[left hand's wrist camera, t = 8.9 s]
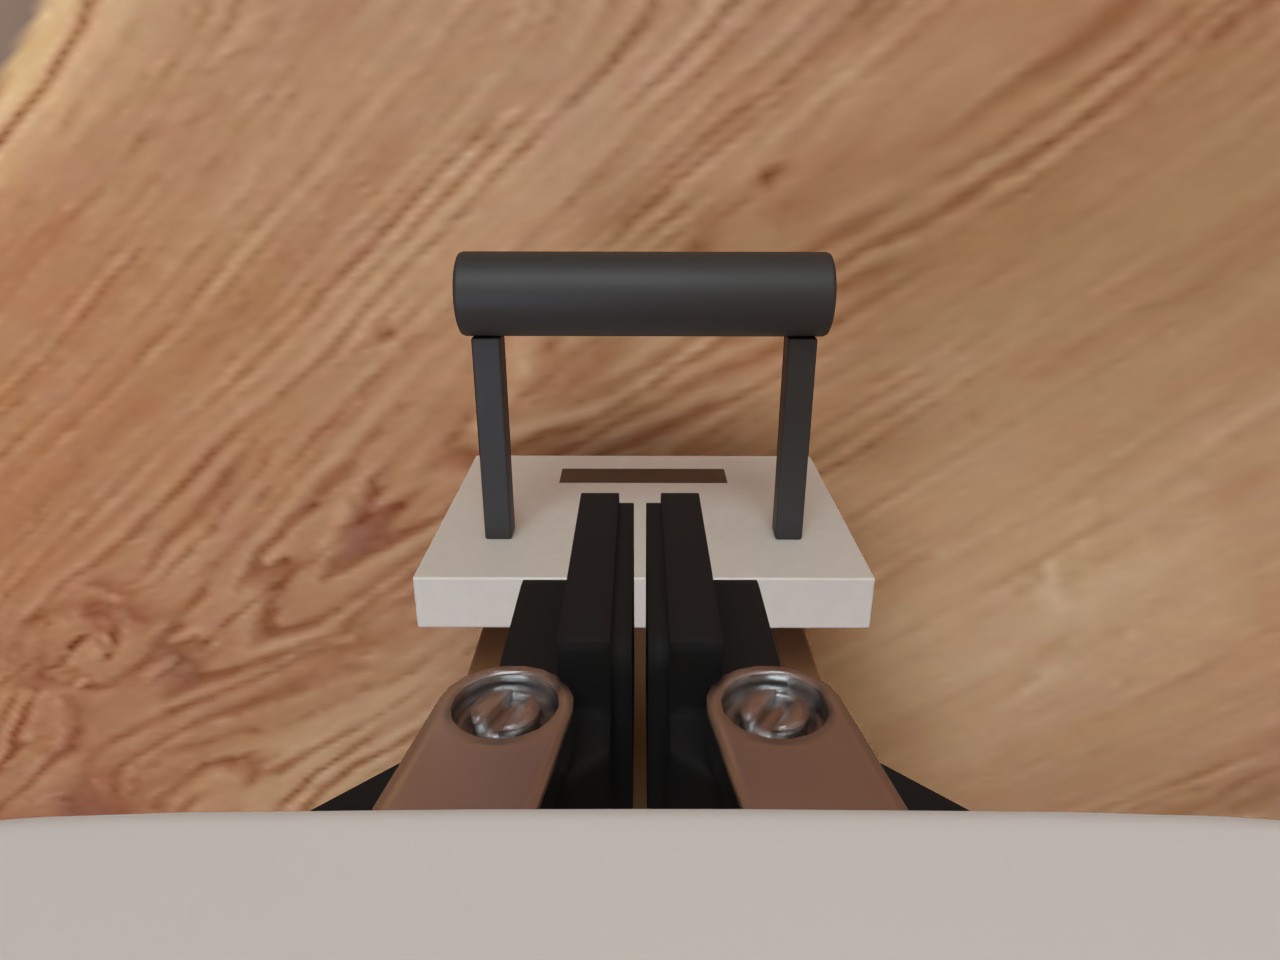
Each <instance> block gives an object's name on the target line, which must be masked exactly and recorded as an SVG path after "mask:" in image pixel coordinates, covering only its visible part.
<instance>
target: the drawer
mask: <svg viewBox="0 0 1280 960" xmlns="http://www.w3.org/2000/svg"><path fill="white" fill-rule="evenodd" d="M836 287H837V285H836V270H835V264H834V260H833V257H832V255H831V254H829V253H827V252H461V253H459V254H458V255H457V257H456V260H455V264H454V270H453V304H454V312H455V317H456V322H457V325H458V328H459V330H460V332H461V333H462V334H463V335H466V336H473V338H472V339H471V343H472V357H473V371H474V385H475V399H476V413H477V427H478V441H479V455H480V456H476V457H475V459H474V461H473V463H472V465H471V467H470V469H469V471H468V473H467V475H466V477H465V479H464V480H463V482H462V484H461V486H460V488H459V490H458V492H457V494H456V496H455V498H454V500H453V502H452V504H451V505H450V507H449V509H448V511H447V513H446V515H445V517H444V519H443V521H442V523H441V525H440V527H439V529H438V530H437V532H436V534H435V536H434V538H433V540H432V542H431V544H430V546H429V548H428V550H427V552H426V553H425V555H424V557H423V559H422V561H421V563H420V565H419V567H418V569H417V571H416V573H415V575H414V577H413V587H414V596H415V605H416V614H417V624H418V627H483V629H482V633H481V636H480V639H479V642H478V645H477V648H476V651H475V654H474V657H473V660H472V663H471V667H470V670H469V673H468V675H471V674H474V673H476V672H479V671H482V670H485V669H490V668H496V667H499V666H500V662H501V658H502V654H503V651H504V647H505V643H506V639H507V636H508V632H509V628H510V625H511V621H512V617H513V613H514V610H515V606H516V602H517V598H518V595H519V591H520V587H521V584H522V582H523V580H567V574H568V568H569V562H570V556H571V550H572V544H573V539H574V533H575V527H576V521H577V515H578V509H579V503H580V497H581V493H619V503H634V773H633V809H647V773H646V503H661V493H699V497H700V503H701V509H702V515H703V521H704V527H705V533H706V539H707V544H708V550H709V556H710V562H711V568H712V574H713V580H757V582H758V584H759V587H760V591H761V595H762V598H763V602H764V606H765V610H766V613H767V617H768V621H769V625H770V628H771V632H772V636H773V639H774V643H775V647H776V651H777V654H778V658H779V662H780V666H781V667H784V668H790V669H795V670H798V671H801V672H804V673H806V674H809V675H812V676H814V677H816V678H818V679H819V680H820V677H819V674H818V671H817V668H816V665H815V662H814V659H813V656H812V653H811V650H810V647H809V644H808V641H807V638H806V635H805V631H804V628H869V626H870V619H871V611H872V602H873V593H874V585H875V578H874V576H873V574H872V572H871V570H870V569H869V567H868V565H867V563H866V561H865V559H864V557H863V555H862V553H861V552H860V550H859V548H858V546H857V544H856V542H855V540H854V538H853V537H852V535H851V533H850V531H849V529H848V527H847V525H846V523H845V521H844V520H843V518H842V516H841V514H840V512H839V510H838V508H837V506H836V504H835V503H834V501H833V499H832V497H831V495H830V493H829V491H828V489H827V487H826V486H825V484H824V482H823V480H822V478H821V476H820V474H819V472H818V471H817V469H816V467H815V465H814V463H813V461H812V459H811V457H809V456H808V453H809V440H810V428H811V415H812V402H813V389H814V376H815V364H816V351H817V339H816V338H815V336H825V335H827V334H828V332H829V330H830V328H831V325H832V322H833V318H834V312H835V305H836ZM504 336H784V349H783V365H782V381H781V396H780V412H779V428H778V443H777V456H511V447H510V429H509V412H508V394H507V377H506V359H505V342H504Z"/></svg>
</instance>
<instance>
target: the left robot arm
mask: <svg viewBox="0 0 1280 960" xmlns="http://www.w3.org/2000/svg"><path fill="white" fill-rule="evenodd" d="M633 773H634V503H619V493H581V497H580V503H579V509H578V515H577V521H576V527H575V533H574V539H573V544H572V550H571V556H570V562H569V568H568V574H567V580H523V582H522V584H521V587H520V591H519V595H518V598H517V602H516V606H515V610H514V613H513V617H512V621H511V625H510V628H509V632H508V636H507V639H506V643H505V647H504V651H503V654H502V658H501V662H500V666H499V667H496V668H490V669H485V670H482V671H479V672H476V673H474V674H471V675H468V676H466V677H464V678H462V679H461V680H459V681H458V682H456V683H455V684H453V685H452V686H450V687H449V688H448V689H447V691H446V692H445V693H444V694H443V695H442V696H441V697H440V699H439V700H438V702H437V703H436V705H435V707H434V708H433V710H432V712H431V713H430V715H429V717H428V718H427V720H426V722H425V723H424V725H423V726H422V728H421V730H420V731H419V733H418V735H417V736H416V738H415V740H414V741H413V743H412V744H411V746H410V748H409V749H408V751H407V753H406V754H405V756H404V758H403V759H402V761H401V762H400V763H399V764H397V765H395V766H393V767H392V768H390V769H388V770H386V771H384V772H382V773H380V774H378V775H377V776H375V777H373V778H371V779H369V780H367V781H365V782H363V783H362V784H360V785H358V786H356V787H354V788H352V789H350V790H348V791H347V792H345V793H343V794H341V795H339V796H337V797H335V798H333V799H332V800H330V801H328V802H326V803H324V804H322V805H320V806H318V807H317V808H315V809H313V810H311V811H279V812H189V813H154V814H123V815H92V816H61V817H36V818H18V819H7V820H0V960H1280V820H1274V819H1262V818H1243V817H1224V816H1192V815H1156V814H1120V813H1085V812H1014V811H969V810H967V809H965V808H963V807H962V806H960V805H958V804H956V803H954V802H952V801H950V800H948V799H947V798H945V797H943V796H941V795H939V794H937V793H935V792H933V791H932V790H930V789H928V788H926V787H924V786H922V785H920V784H918V783H917V782H915V781H913V780H911V779H909V778H907V777H905V776H903V775H902V774H900V773H898V772H896V771H894V770H892V769H890V768H888V767H887V766H885V765H883V764H881V763H880V762H879V761H878V759H877V758H876V756H875V754H874V753H873V751H872V749H871V748H870V746H869V744H868V743H867V741H866V740H865V738H864V736H863V735H862V733H861V731H860V730H859V728H858V726H857V725H856V723H855V722H854V720H853V718H852V717H851V715H850V713H849V712H848V710H847V708H846V707H845V705H844V703H843V702H842V700H841V699H840V697H839V696H838V695H837V694H836V693H835V692H834V691H833V689H832V688H831V687H830V686H828V685H827V684H825V683H824V682H822V681H821V680H819V679H818V678H816V677H814V676H812V675H809V674H806V673H804V672H801V671H798V670H795V669H790V668H784V667H781V666H780V662H779V658H778V654H777V651H776V647H775V643H774V639H773V636H772V632H771V628H770V625H769V621H768V617H767V613H766V610H765V606H764V602H763V598H762V595H761V591H760V587H759V584H758V582H757V580H713V574H712V568H711V562H710V556H709V550H708V544H707V539H706V533H705V527H704V521H703V515H702V509H701V503H700V497H699V493H661V503H646V773H647V809H633Z"/></svg>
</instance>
